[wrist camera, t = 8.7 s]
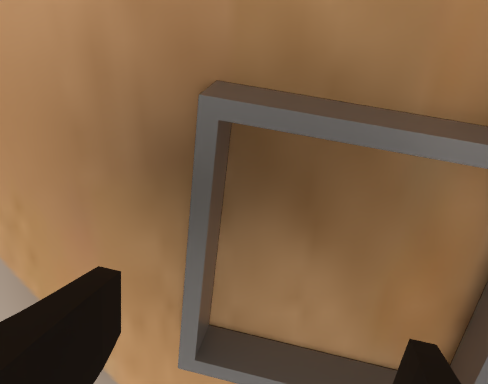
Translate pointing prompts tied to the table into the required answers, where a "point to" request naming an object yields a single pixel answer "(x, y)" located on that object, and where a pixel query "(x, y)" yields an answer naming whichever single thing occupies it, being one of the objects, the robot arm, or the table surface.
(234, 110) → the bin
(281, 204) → the table surface
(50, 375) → the robot arm
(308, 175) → the table surface
